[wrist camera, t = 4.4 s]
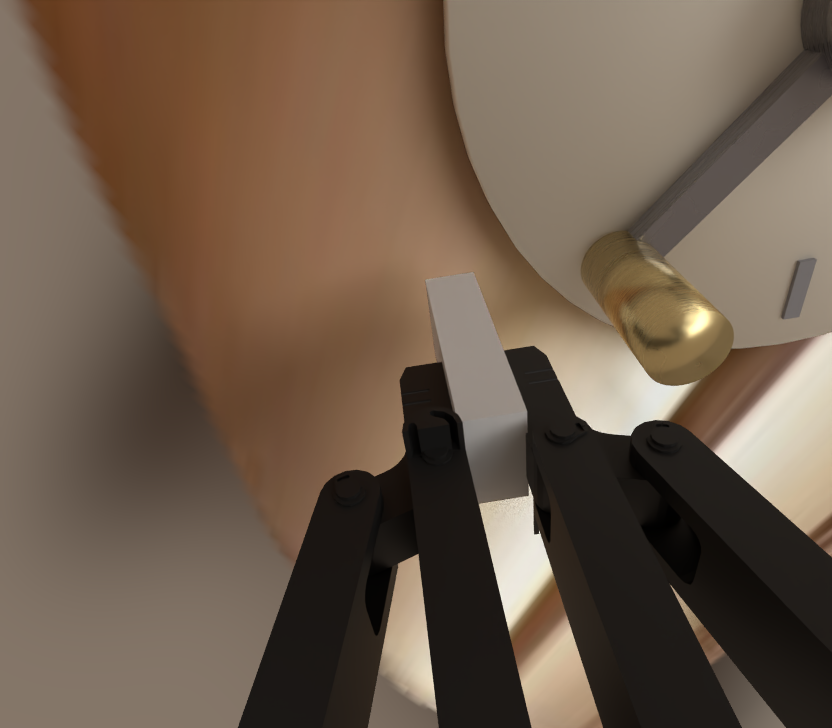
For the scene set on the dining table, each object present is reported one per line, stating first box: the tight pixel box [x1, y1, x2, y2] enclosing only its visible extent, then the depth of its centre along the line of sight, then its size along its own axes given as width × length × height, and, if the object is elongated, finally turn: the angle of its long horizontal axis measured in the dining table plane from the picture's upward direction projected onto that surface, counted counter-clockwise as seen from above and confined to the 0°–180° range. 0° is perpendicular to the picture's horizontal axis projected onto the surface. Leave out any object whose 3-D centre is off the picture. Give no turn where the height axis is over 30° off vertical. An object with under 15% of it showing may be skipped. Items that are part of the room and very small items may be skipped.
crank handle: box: [580, 0, 832, 386], centre depth 15 cm, size 14×5×5 cm, turn 143°
